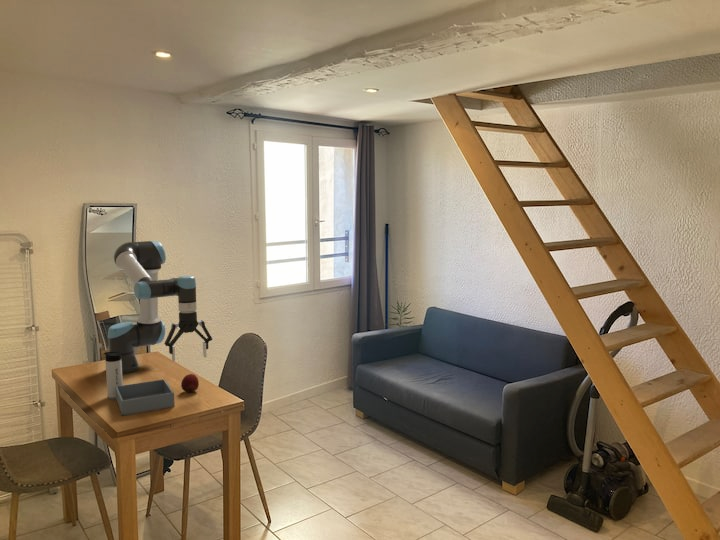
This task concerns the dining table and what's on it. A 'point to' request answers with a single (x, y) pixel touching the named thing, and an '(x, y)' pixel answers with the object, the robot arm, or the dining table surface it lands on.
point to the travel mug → (113, 373)
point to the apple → (190, 383)
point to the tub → (144, 397)
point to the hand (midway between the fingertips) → (189, 358)
